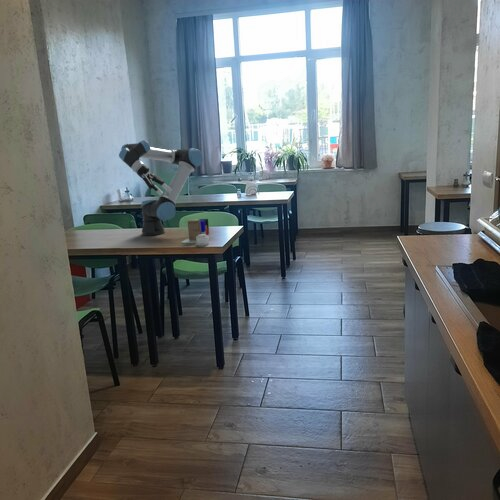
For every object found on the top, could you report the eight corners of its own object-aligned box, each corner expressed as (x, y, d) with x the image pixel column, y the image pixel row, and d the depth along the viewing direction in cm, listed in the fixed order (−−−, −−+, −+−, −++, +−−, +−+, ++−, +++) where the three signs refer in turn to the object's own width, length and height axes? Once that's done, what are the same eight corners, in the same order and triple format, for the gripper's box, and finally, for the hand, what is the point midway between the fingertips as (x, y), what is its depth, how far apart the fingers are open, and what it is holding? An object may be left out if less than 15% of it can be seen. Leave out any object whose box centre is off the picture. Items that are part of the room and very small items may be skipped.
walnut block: (192, 238, 287) (190, 219, 285) (201, 238, 286) (200, 219, 283) (189, 240, 282) (187, 221, 279) (198, 240, 280) (197, 221, 278)
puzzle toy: (204, 237, 294) (203, 221, 292) (189, 237, 296) (188, 221, 294) (209, 233, 303) (207, 218, 301) (194, 234, 306) (193, 219, 303)
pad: (188, 238, 292) (188, 237, 292) (210, 238, 289) (210, 237, 289) (181, 243, 279) (180, 242, 279) (203, 243, 276) (203, 242, 276)
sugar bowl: (199, 243, 276) (198, 233, 274) (210, 243, 274) (209, 233, 273) (195, 246, 269) (194, 236, 268) (206, 245, 268) (205, 236, 266)
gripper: (145, 172, 295) (170, 194, 295) (127, 175, 271) (154, 200, 271) (152, 163, 292) (177, 186, 292) (134, 165, 269) (161, 190, 269)
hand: (166, 192), depth 282 cm, fingers open, 13 cm apart
